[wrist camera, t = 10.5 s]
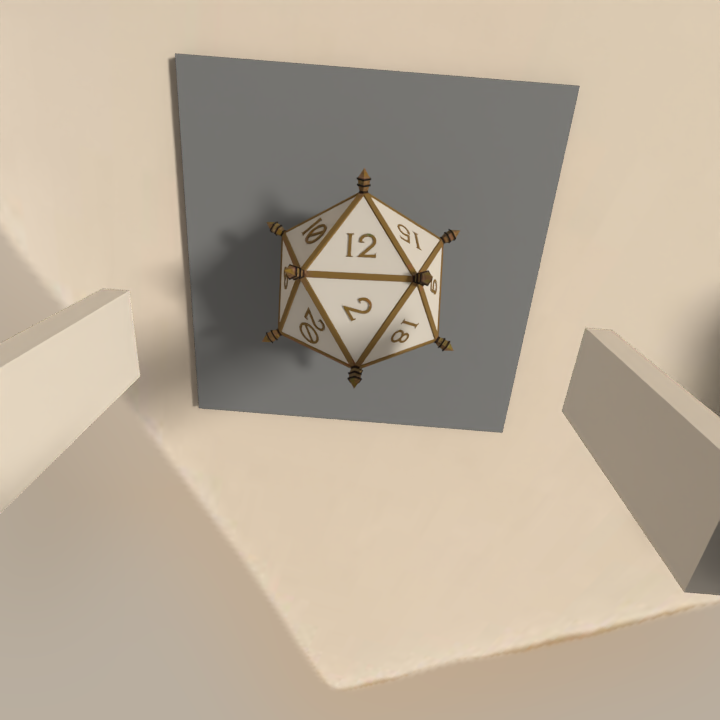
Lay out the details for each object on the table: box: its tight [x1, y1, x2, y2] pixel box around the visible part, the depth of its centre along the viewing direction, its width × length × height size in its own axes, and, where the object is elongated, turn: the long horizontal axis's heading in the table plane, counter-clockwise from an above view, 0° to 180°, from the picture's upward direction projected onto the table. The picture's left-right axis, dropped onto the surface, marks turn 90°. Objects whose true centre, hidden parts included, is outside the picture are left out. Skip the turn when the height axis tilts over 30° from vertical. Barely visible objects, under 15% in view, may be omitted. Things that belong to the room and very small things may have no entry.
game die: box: [262, 167, 460, 388], centre depth 21 cm, size 9×8×10 cm
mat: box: [175, 53, 580, 433], centre depth 25 cm, size 18×18×1 cm
